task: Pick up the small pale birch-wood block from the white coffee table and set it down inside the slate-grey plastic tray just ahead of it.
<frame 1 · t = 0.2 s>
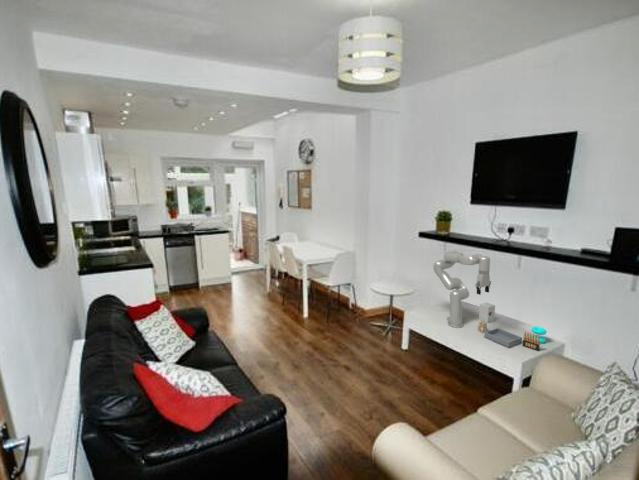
hand: (482, 293, 262), 36 cm above the table, tool pointing down, fingers open, 9 cm apart
ammunition clip: (530, 348, 246), on the table
birch block: (482, 331, 274), on the table
tray: (502, 340, 259), on the table
supplement box: (486, 320, 295), on the table
donuts: (537, 341, 256), on the table
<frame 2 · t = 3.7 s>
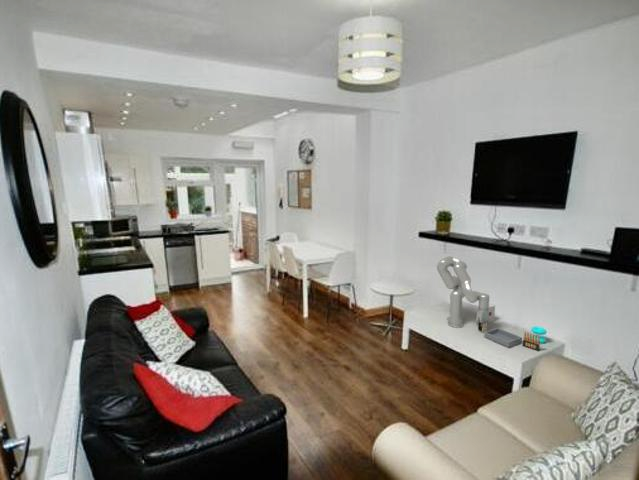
hand: (482, 329, 274), 2 cm above the table, tool pointing down, fingers closed on birch block, 4 cm apart
birch block: (482, 331, 274), on the table, touching gripper
everything else where it was.
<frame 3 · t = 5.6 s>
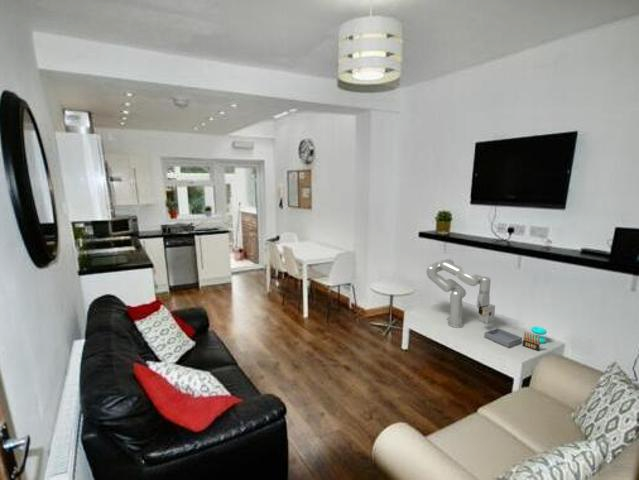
hand: (482, 312, 272), 16 cm above the table, tool pointing down, fingers closed on birch block, 4 cm apart
birch block: (482, 315, 272), point 14 cm above the table, touching gripper
everything else where it was.
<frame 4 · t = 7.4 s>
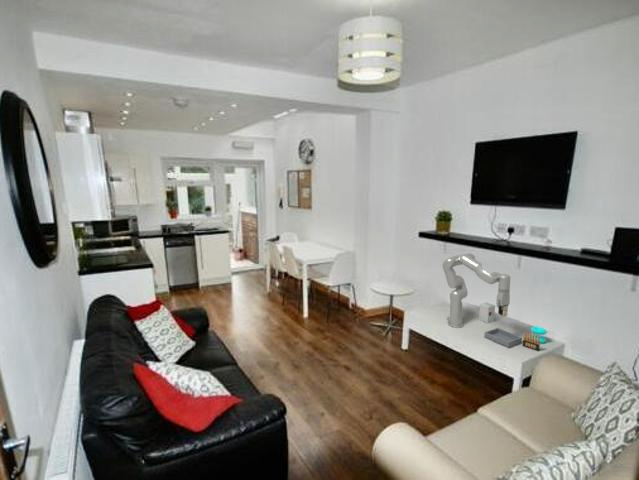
hand: (502, 313, 256), 22 cm above the table, tool pointing down, fingers closed on birch block, 4 cm apart
birch block: (502, 315, 257), point 20 cm above the table, touching gripper
everything else where it was.
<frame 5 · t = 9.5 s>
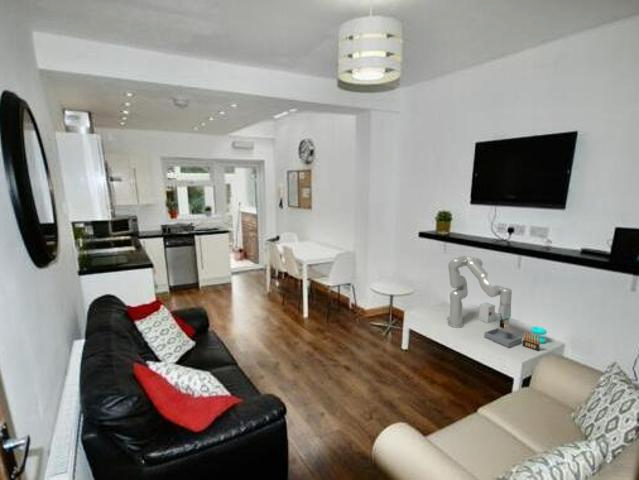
hand: (503, 326, 256), 12 cm above the table, tool pointing down, fingers closed on birch block, 4 cm apart
birch block: (503, 328, 257), point 10 cm above the table, touching gripper
everything else where it was.
when the fingers open (4 cm above the table, at t = 11.3 s): birch block stays where it is, resting on tray.
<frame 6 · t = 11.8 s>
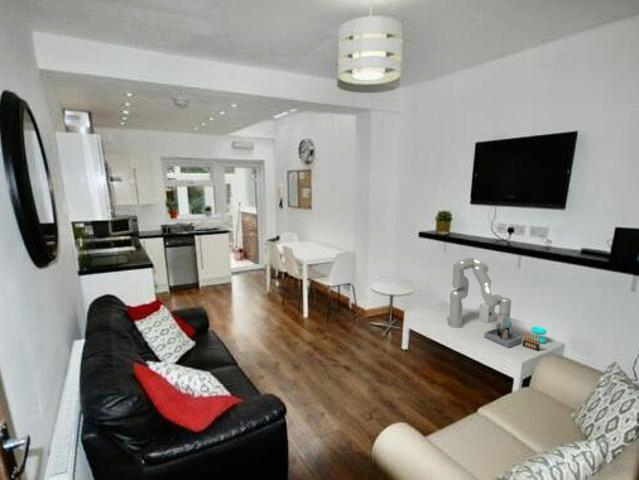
hand: (503, 334, 258), 5 cm above the table, tool pointing down, fingers open, 9 cm apart
birch block: (502, 339, 259), point 1 cm above the table, touching tray
everything else where it was.
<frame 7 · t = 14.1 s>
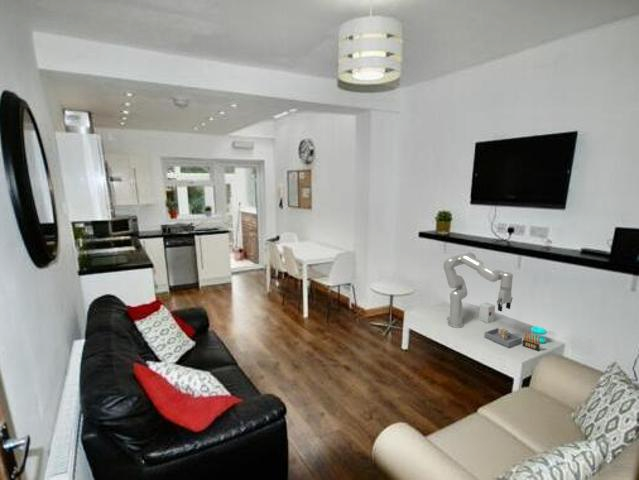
hand: (503, 309, 256), 25 cm above the table, tool pointing down, fingers open, 9 cm apart
nothing on the table moved.
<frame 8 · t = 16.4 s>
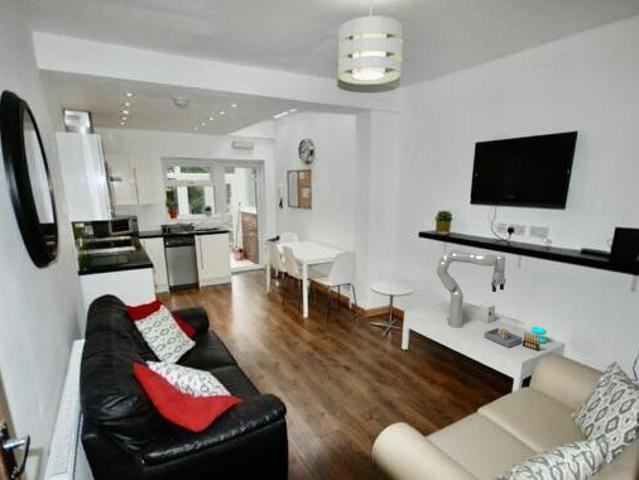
hand: (497, 290, 273), 33 cm above the table, tool pointing down, fingers open, 9 cm apart
nothing on the table moved.
at the end: birch block inside the target area on the tray (0.1 cm from its centre), point 1.0 cm above the tray's base; the gripper is holding nothing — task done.
